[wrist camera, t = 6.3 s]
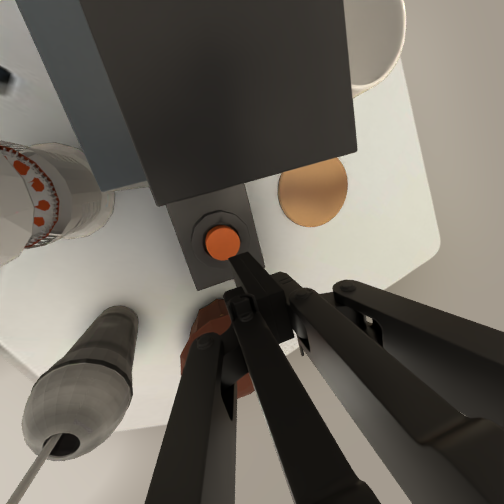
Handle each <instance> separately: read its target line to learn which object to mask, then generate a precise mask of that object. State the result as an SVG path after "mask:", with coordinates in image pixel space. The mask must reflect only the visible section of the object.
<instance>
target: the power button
mask: <svg viewBox="0 0 504 504" xmlns="http://www.w3.org/2000/svg"><path fill="white" fill-rule="evenodd" d="M205 244H206V247H207V250H208V252H209V254H210V255H211V256H212V257H213V258H215V259H217V260H228V258H229V257H232V256H235V255H236V254H237V252H238V250H239V248H240V239H239V237H238V235H237V233H236V232H235V231H234V230H233V229H231V228H230V227H228V226H225V225H218V226H215V227H213V228H212V229H211V230H209V232H208V233H207V235H206V239H205Z"/></svg>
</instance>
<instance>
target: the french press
mask: <svg viewBox="0 0 504 504" xmlns="http://www.w3.org/2000/svg"><path fill="white" fill-rule="evenodd" d="M13 145H19V144H15V143H10V142H5V141H0V267H2V266H3V265H5V264H7V263H8V262H10V261H12V260H14V259H15V258H17V257H19V255H20V254H21V252H22V250H23V249H24V248H25V249H29V248H34V247H39V246H44V245H47V244H50V243H52V242H55V241H56V240H58V239H61V238H64V239H74V238H80V237H86V236H89V235H91V234H92V233H94V232H96V231H97V230H99V229H101V228H102V227H104V225H105V224H106V222H107V221H108V219H109V218H110V216H111V215H112V213H113V207H114V200H115V194H114V191H108V192H101V190H100V188H99V186H98V184H97V181H96V179H95V177H94V175H93V173H92V170H91V168H90V166H89V164H88V161H87V159H86V157H85V155H84V152H82V151H81V150H79V149H78V148H74V147H70V146H67V145H63V144H59V143H45V144H35V145H32V146H30V147H28V146H23V145H21V146H13ZM9 147H27V148H9ZM14 149H25V150H14ZM20 151H21V152H20ZM46 237H56V238H46ZM52 239H54V240H52ZM41 240H49V241H45V242H48V243H45V242H42V241H41ZM50 241H51V242H50ZM36 243H38V244H39V245H34V244H36ZM41 243H43V244H41Z"/></svg>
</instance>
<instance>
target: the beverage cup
mask: <svg viewBox="0 0 504 504" xmlns="http://www.w3.org/2000/svg"><path fill="white" fill-rule="evenodd" d="M137 332H138V317H137V315H136V313H135V312H134V311H133V310H131V309H129V308H127V307H124V306H113V307H111V308H108V309H106V310H105V311H104V312H103V313H102V314H101V315H100V316H99V317H97V319H96V320H95V321H94V322H93V323H92V324H91V326H90V327H89V328H88V329H87V330H86V331H85V333H84V334H83V335H82V336H81V337H80V338H79V340H78V341H77V342H76V343H75V344H74V345H73V347H72V348H71V349H70V350H69V351H68V352H67V354H66V355H65V356H64V357H63V358H62V359H60V360H59V361H58V362H57V363H55V364H54V365H53V366H52V367H51V368H50V369H49V370H48V371H47V372H45V373H44V374H42V375H41V376H40V378H39V379H38V380H37V382H36V383H35V384H34V386H33V388H32V391H31V394H30V396H29V398H28V400H27V403H26V406H25V410H24V414H23V419H22V431H23V435H24V439H25V442H26V444H27V445H28V447H29V448H30V449H31V450H32V451H33V452H34V453H35V454H36V455H38V457H37V458H36V460H35V462H34V463H33V464H32V466H31V467H30V469H29V470H28V472H27V473H26V475H25V476H24V478H23V479H22V481H21V482H20V484H19V485H18V487H17V488H16V490H15V491H14V493H13V494H12V496H11V498H10V499H9V500H8V502H7V503H6V504H18V503H19V501H20V500H21V498H22V497H23V495H24V493H25V492H26V490H27V489H28V487H29V485H30V484H31V482H32V481H33V479H34V478H35V476H36V474H37V473H38V471H39V470H40V468H41V466H42V465H43V463H44V462H45V460H46V459H47V460H52V461H65V460H70V459H75V458H77V457H79V456H82V455H84V454H86V453H88V452H90V451H92V450H93V449H95V448H96V447H97V446H99V445H100V444H101V443H103V442H104V441H105V440H106V439H107V438H108V437H109V436H110V435H111V434H112V433H113V431H114V430H115V429H116V427H117V426H118V425H119V423H120V422H121V421H122V419H123V417H124V415H125V412H126V410H127V409H128V407H129V405H130V402H131V399H132V396H133V389H132V366H133V360H134V353H135V346H136V339H137Z"/></svg>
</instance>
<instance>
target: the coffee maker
mask: <svg viewBox="0 0 504 504" xmlns="http://www.w3.org/2000/svg"><path fill="white" fill-rule="evenodd" d="M15 1H16V3H17V5H18V8H19V10H20V12H21V14H22V16H23V19H24V21H25V23H26V25H27V28H28V30H29V32H30V34H31V37H32V39H33V41H34V43H35V45H36V48H37V50H38V52H39V54H40V57H41V59H42V61H43V63H44V65H45V68H46V70H47V72H48V74H49V77H50V79H51V81H52V83H53V86H54V88H55V90H56V92H57V94H58V97H59V99H60V101H61V103H62V106H63V108H64V110H65V112H66V115H67V117H68V119H69V121H70V123H71V126H72V128H73V130H74V132H75V135H76V137H77V139H78V141H79V144H80V146H81V148H82V150H83V152H84V155H85V157H86V159H87V161H88V164H89V166H90V168H91V170H92V173H93V175H94V177H95V179H96V181H97V184H98V186H99V188H100V190H101V192H108V191H117V190H126V189H135V188H144V187H150V189H151V192H152V195H153V197H154V200H155V203H156V205H157V206H159V207H160V206H163V205H167V204H171V203H174V202H178V201H182V200H185V199H189V198H192V197H196V196H200V195H203V194H207V193H210V192H214V191H218V190H221V189H225V188H228V187H232V186H236V185H239V184H243V183H246V182H250V181H254V180H257V179H261V178H264V177H268V176H272V175H275V174H279V173H283V172H286V171H290V170H293V169H297V168H301V167H304V166H308V165H311V164H315V163H319V162H322V161H326V160H329V159H333V158H337V157H340V156H344V155H347V154H351V153H355V152H357V140H356V129H355V118H354V108H353V97H352V86H351V76H350V65H349V54H348V44H347V33H346V23H345V12H344V1H343V0H15Z"/></svg>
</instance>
